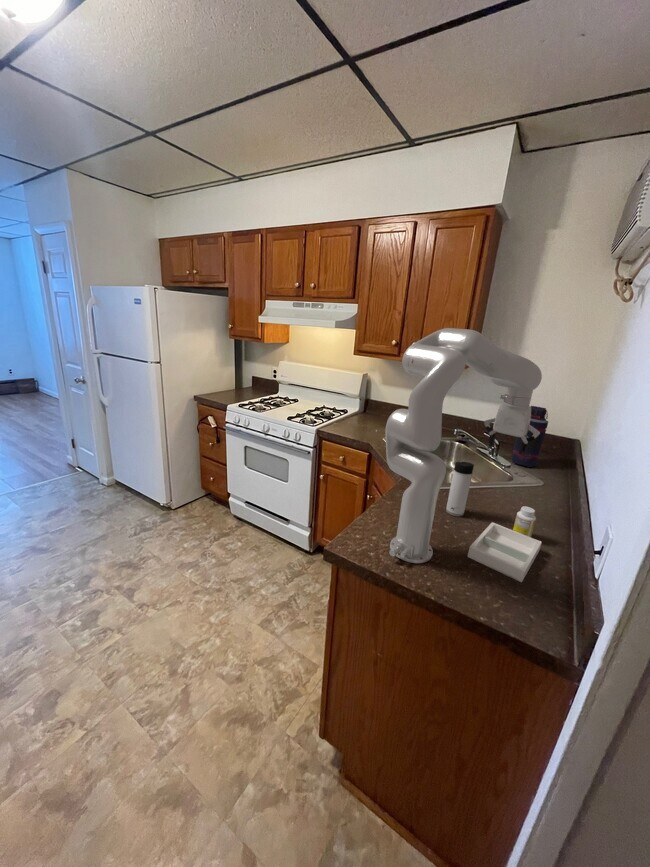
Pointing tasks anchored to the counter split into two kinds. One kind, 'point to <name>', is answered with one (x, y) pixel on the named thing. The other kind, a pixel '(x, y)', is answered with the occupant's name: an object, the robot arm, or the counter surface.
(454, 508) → the travel mug
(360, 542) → the counter surface
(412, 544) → the robot arm
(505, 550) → the bay tray
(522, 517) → the supplement bottle
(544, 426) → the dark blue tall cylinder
